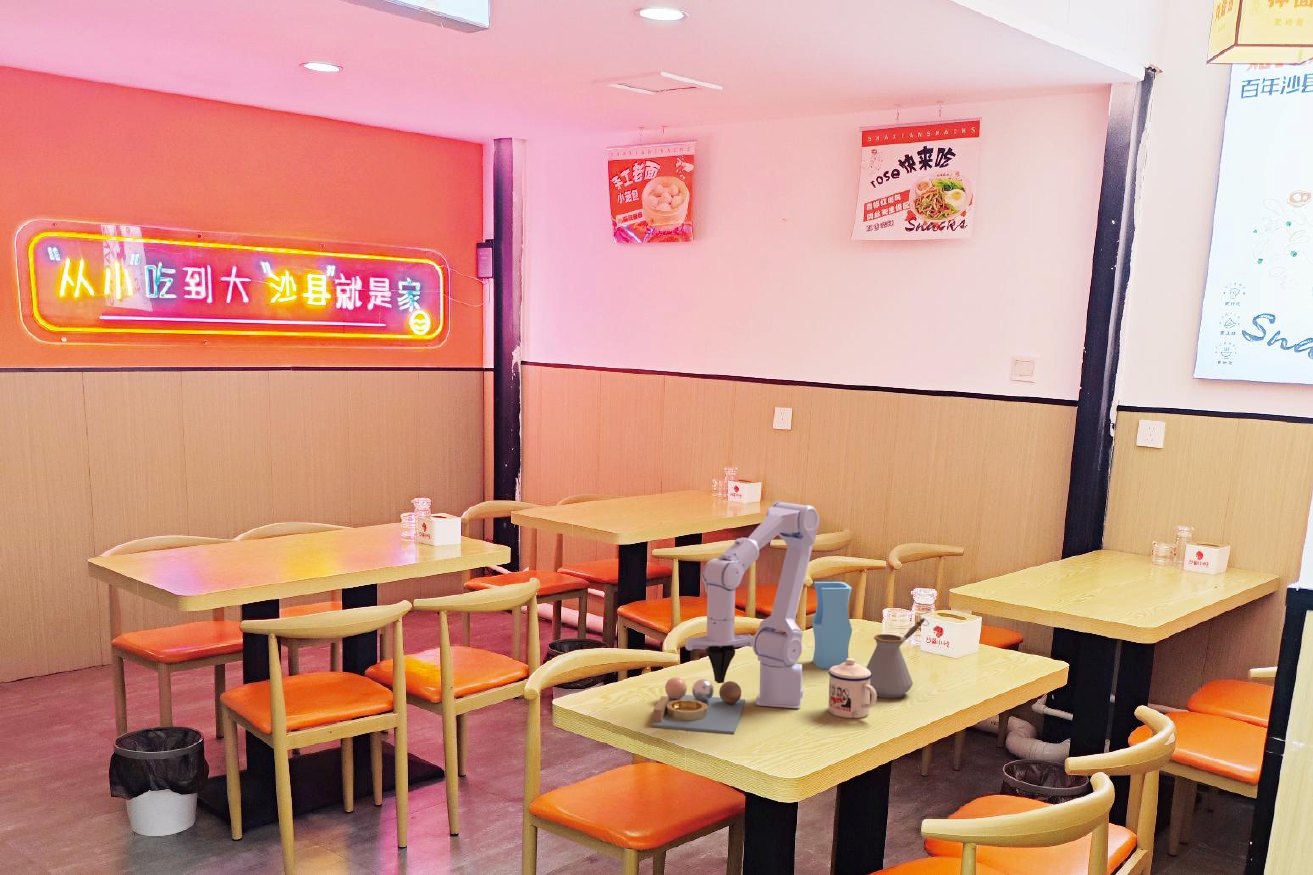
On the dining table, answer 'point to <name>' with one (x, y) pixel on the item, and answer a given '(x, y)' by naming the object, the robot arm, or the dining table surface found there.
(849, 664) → the teacup with lid
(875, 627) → the dining table surface
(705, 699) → the silver steel ball
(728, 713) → the slate mat
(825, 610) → the vase
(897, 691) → the coffee pot
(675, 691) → the terracotta ball
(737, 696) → the walnut ball
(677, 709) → the tan round shallow dish
